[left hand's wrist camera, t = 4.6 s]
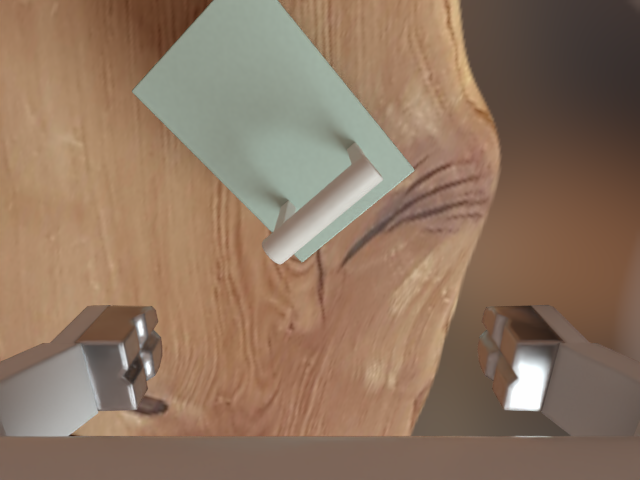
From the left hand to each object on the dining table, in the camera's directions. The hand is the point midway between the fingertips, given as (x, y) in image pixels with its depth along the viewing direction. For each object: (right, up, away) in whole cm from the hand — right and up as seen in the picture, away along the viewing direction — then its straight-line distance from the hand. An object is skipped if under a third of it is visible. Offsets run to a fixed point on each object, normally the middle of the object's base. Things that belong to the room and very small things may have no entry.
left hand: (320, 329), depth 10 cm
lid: (-2, +9, +14) cm, 17 cm away
